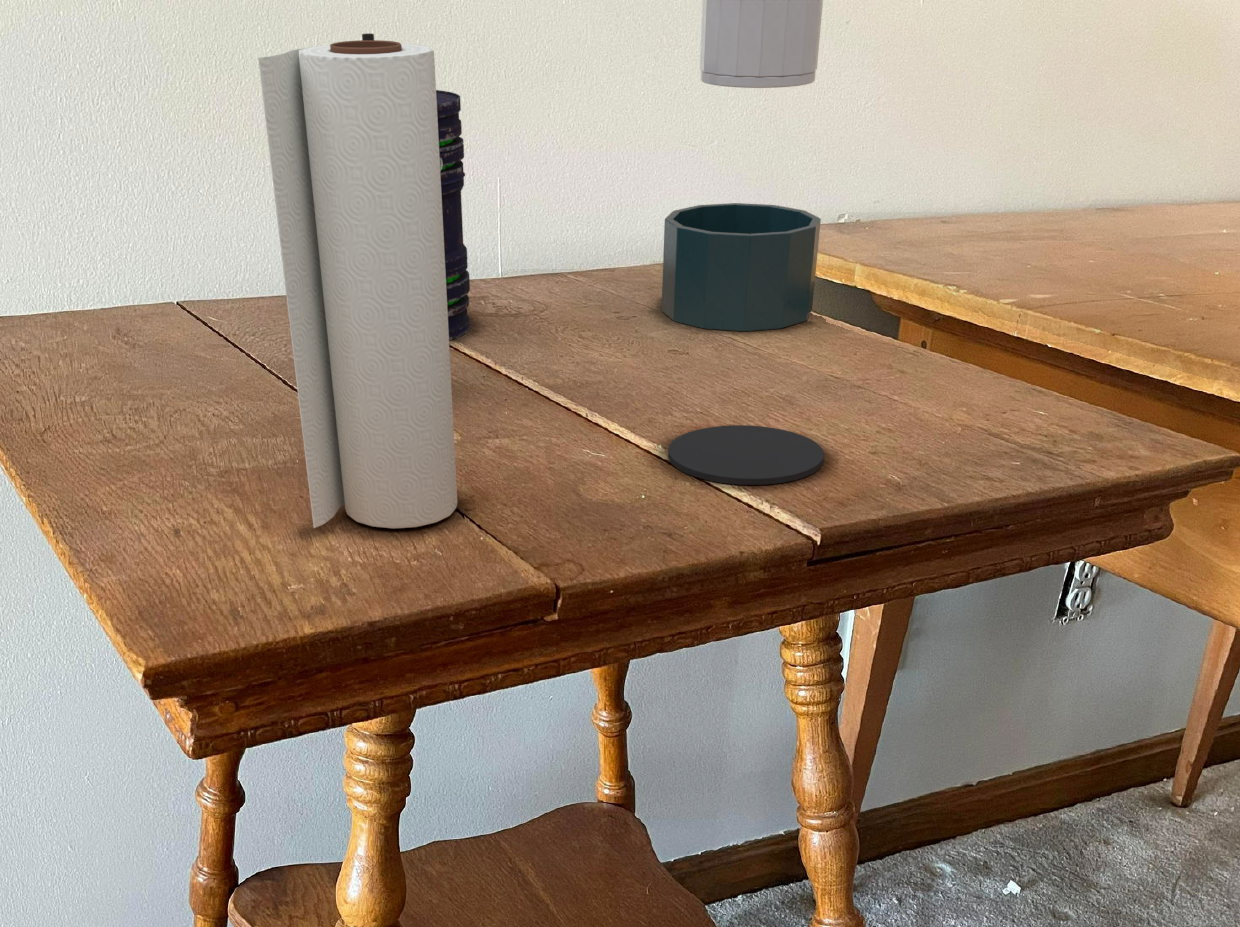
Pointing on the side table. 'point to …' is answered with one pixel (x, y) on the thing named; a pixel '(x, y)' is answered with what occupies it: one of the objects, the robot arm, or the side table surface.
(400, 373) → the paper towel roll
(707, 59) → the silver cup
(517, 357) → the side table surface
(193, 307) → the side table surface
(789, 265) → the pail
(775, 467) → the coaster
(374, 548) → the side table surface
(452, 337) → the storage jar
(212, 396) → the side table surface
